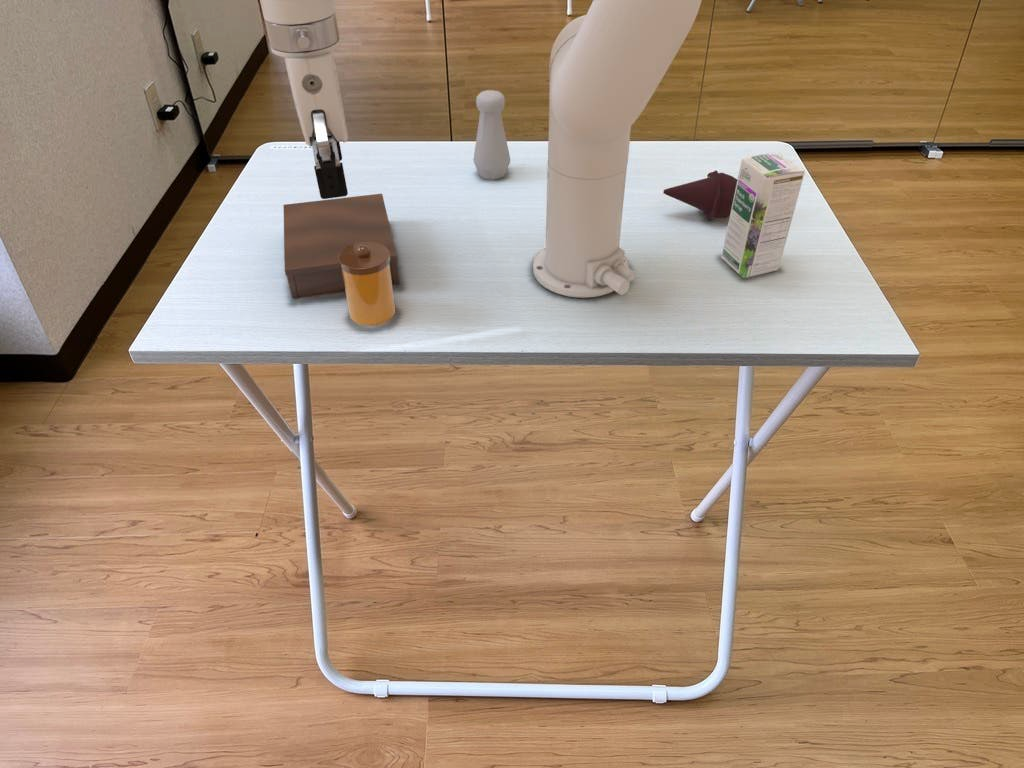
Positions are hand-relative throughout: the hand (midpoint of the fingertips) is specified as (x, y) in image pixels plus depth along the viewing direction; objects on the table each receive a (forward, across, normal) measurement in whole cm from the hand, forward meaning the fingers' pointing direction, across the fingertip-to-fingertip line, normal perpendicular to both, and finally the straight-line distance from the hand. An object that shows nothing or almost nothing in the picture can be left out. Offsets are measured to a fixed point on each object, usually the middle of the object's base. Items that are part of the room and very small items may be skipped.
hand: (332, 178), depth 96 cm
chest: (+13, +2, +1) cm, 13 cm away
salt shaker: (+14, +22, -24) cm, 36 cm away
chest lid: (+8, +1, +1) cm, 9 cm away
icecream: (+14, +1, -53) cm, 55 cm away
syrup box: (+14, -12, -52) cm, 56 cm away
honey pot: (+13, -12, -2) cm, 18 cm away
